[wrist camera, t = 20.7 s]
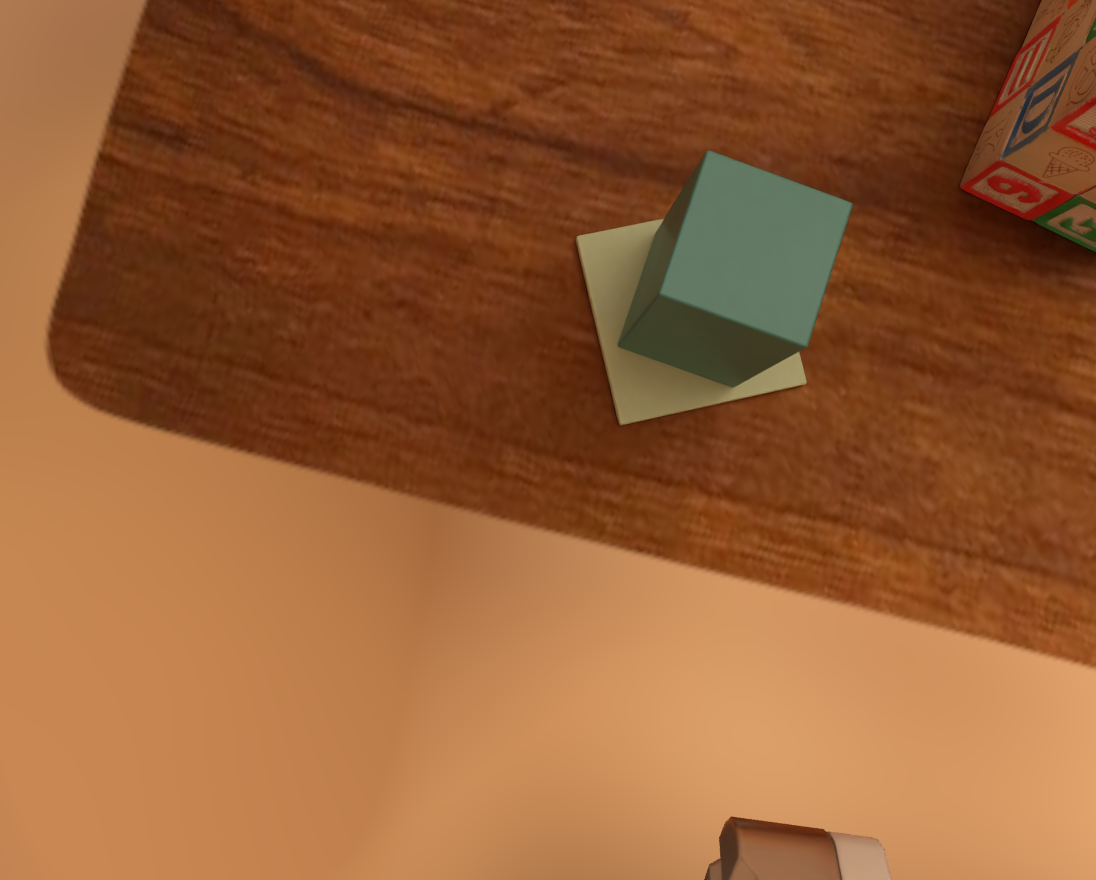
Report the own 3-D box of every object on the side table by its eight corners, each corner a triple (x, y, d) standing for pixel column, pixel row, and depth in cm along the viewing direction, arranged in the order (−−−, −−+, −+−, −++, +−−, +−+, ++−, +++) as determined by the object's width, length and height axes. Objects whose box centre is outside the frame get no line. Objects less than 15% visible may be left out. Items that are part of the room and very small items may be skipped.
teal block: (734, 388, 37) (807, 348, 29) (616, 346, 36) (657, 294, 28) (771, 273, 37) (854, 202, 29) (655, 231, 37) (707, 148, 29)
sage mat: (619, 426, 37) (620, 424, 36) (575, 239, 37) (576, 236, 37) (803, 385, 37) (807, 383, 37) (758, 201, 38) (761, 198, 37)
